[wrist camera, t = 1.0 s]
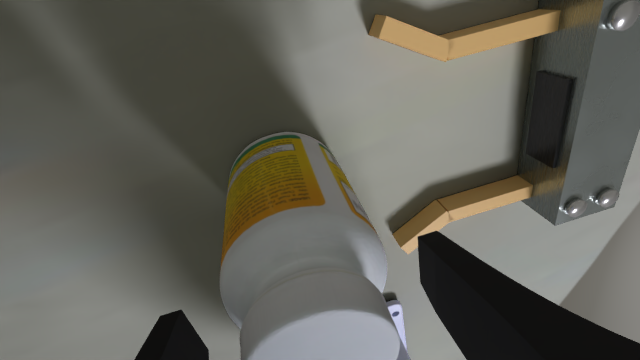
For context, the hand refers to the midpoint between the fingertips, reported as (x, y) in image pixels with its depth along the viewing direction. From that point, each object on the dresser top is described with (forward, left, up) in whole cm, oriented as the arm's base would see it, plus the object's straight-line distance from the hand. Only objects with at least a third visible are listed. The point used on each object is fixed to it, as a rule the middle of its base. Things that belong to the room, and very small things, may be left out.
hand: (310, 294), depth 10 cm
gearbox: (+1, -15, -7) cm, 16 cm away
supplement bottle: (0, 0, -8) cm, 8 cm away
